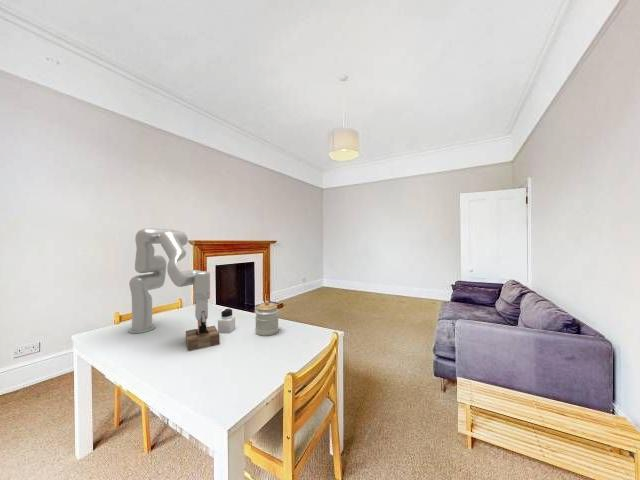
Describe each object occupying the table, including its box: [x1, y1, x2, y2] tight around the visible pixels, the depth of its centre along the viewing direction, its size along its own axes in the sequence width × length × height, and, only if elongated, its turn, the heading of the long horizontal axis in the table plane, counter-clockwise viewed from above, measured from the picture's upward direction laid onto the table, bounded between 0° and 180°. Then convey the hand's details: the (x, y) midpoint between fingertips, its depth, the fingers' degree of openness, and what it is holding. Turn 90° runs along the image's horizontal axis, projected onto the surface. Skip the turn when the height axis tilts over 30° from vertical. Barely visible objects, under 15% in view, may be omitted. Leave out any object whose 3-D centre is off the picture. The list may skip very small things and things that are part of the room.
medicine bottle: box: [217, 308, 236, 334], centre depth 142 cm, size 7×7×12 cm
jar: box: [254, 300, 280, 337], centre depth 140 cm, size 13×13×18 cm
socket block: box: [185, 325, 221, 352], centre depth 126 cm, size 14×14×5 cm
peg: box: [197, 318, 206, 335], centre depth 126 cm, size 4×4×12 cm
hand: (202, 331), depth 126 cm, fingers closed on peg, 3 cm apart
